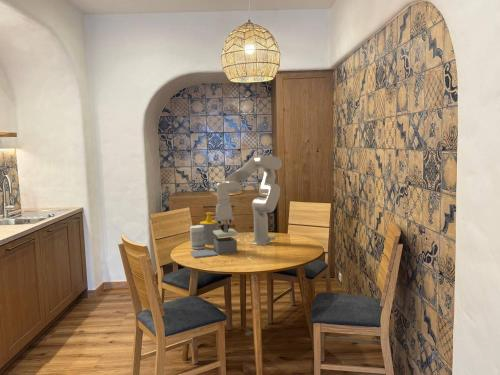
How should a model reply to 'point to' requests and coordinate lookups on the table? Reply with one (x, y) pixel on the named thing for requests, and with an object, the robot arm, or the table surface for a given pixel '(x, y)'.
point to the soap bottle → (209, 229)
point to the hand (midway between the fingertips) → (225, 230)
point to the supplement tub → (197, 237)
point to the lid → (225, 231)
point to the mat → (203, 253)
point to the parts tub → (225, 245)
